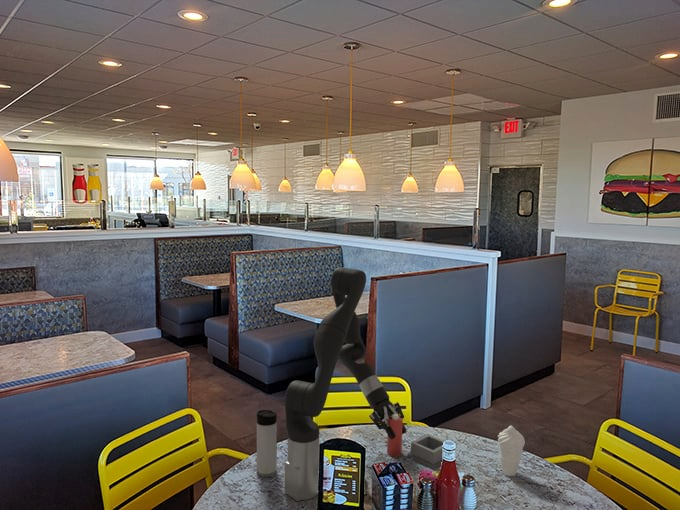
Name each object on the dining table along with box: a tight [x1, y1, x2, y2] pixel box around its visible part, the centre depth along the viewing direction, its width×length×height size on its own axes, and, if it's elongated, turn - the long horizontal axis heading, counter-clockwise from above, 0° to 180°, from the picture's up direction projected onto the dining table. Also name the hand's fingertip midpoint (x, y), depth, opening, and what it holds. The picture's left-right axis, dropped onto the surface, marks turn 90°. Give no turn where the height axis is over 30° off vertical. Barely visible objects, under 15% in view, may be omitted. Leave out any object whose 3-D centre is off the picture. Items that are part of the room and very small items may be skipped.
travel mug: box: [256, 409, 278, 478], centre depth 157 cm, size 6×7×20 cm
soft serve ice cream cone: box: [497, 425, 526, 477], centre depth 159 cm, size 8×8×16 cm
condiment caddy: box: [406, 433, 445, 470], centre depth 169 cm, size 11×11×5 cm
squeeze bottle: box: [386, 414, 404, 457], centre depth 170 cm, size 5×5×14 cm
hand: (399, 435), depth 169 cm, fingers closed on squeeze bottle, 5 cm apart
